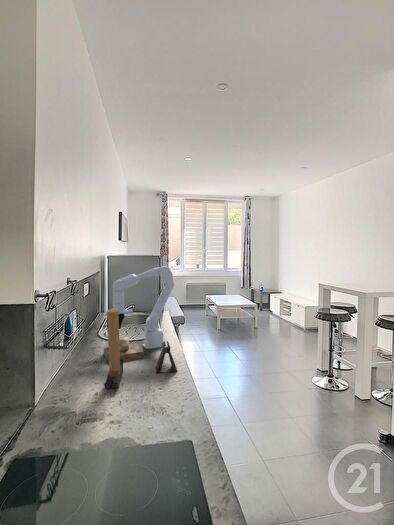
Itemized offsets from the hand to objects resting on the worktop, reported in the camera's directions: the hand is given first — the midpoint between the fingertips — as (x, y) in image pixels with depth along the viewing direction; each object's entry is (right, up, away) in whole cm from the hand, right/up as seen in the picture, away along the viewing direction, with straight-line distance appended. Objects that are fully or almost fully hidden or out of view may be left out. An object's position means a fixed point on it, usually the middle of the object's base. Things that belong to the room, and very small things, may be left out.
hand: (118, 328), depth 159 cm
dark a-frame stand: (+28, -12, -29) cm, 42 cm away
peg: (+5, -11, -11) cm, 17 cm away
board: (+5, -11, -11) cm, 17 cm away
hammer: (+9, -13, -39) cm, 42 cm away
